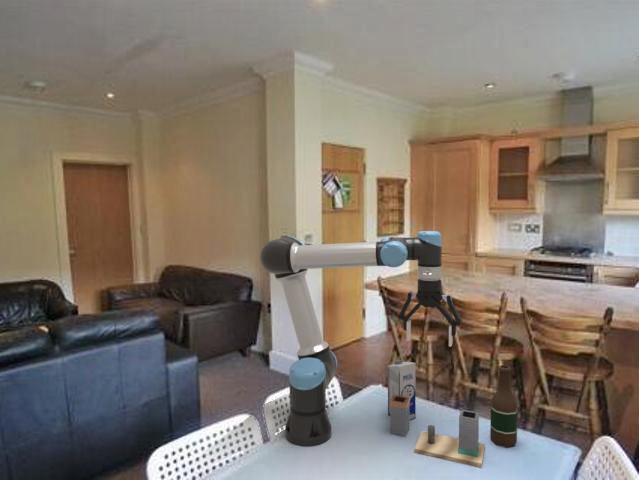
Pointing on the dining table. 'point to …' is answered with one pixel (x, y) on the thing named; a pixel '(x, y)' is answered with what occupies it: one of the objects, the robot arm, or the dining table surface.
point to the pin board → (446, 448)
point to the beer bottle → (504, 411)
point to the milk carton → (402, 383)
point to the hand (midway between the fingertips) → (429, 342)
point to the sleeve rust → (399, 415)
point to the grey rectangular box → (468, 433)
